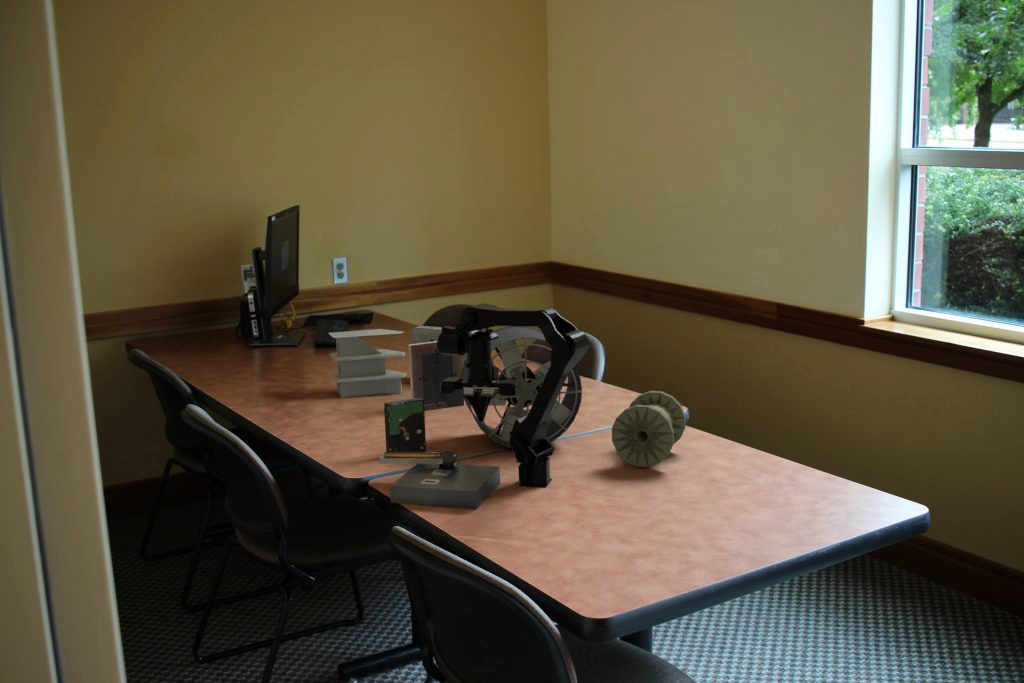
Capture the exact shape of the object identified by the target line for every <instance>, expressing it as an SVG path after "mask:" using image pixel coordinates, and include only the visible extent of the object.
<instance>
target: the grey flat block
mask: <svg viewBox="0 0 1024 683" xmlns="http://www.w3.org/2000/svg"><path fill="white" fill-rule="evenodd" d="M500 484H501V467H500V466H496V465H494V466H493V465H477V464H462V463H461V464H460V463H458V465H457V466H456V467H452V468H442V467H439V464H414V465H413V467H412V468H410V469H409V470H408V471H406V472H405V473H404V474H403V475H402V476H401V477H399V478H398V479H397V480H396V481H394V482H393V483H391V484H390V486H389V491H390V503H393V504H402V505H404V504H405V505H414V506H425V507H437V508H438V507H439V508H440V507H441V508H453V509H469V510H470V509H471V510H477V509H478V508H479V507H480V506H481V505H482V504H483V503H484V502H485V500H487V498H488V497H489V496H490V495H491V494H492V493H493V492H494V491H495V490H496V489H497V487H498V486H499V485H500Z"/></svg>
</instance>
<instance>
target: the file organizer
mask: <svg viewBox="0 0 1024 683" xmlns="http://www.w3.org/2000/svg"><path fill="white" fill-rule="evenodd" d="M397 334H404V331H400V330H392V329H384V328H375V329H364V330H363V329H362V330H350V331H336V332H335V331H334V332H328V335H330V336H331V337H332V338H333V339H335V343H336V345H335V346H336V352H330V353H329V357H330V358H331V359H332V360H333V361H334V362H337V370H338V371H337V373H335V372H334V373H331V374H330V377H331V378H332V380H334V382H335V383H336V388H337V389H336V390H337V393H338V394H339V396H340V397H341V398H351V397H361V396H362V397H363V396H373V395H384V394H385V395H386V394H392V395H393V394H394V395H395V394H396V395H402V394H403V388H402V386H403V385H402V379H403V378H405V377H407V372H403V371H398V370H397V371H396V370H391V369H387V367H386V358H397V357H404V356H406V352H405V351H400V350H399V351H398V350H393V349H385V348H378V349H376V348H375V347H374V346H372V345H370V344H369V343H367V342H366V341H364V340H363V339H361V338H360V337H365V336H366V337H368V336H384V335H397Z"/></svg>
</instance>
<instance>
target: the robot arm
mask: <svg viewBox="0 0 1024 683" xmlns="http://www.w3.org/2000/svg"><path fill="white" fill-rule="evenodd" d="M511 326H525V327H537V328H538V329H539V330H540V332H542V333H543V335H544V337H545V340H546V341H547V342H546V341H545V342H546V343H547V344H548V345H549V346H551V348H550V349H551V351H550V352H549V353H550V354H549V356H550V360H551V364H550V367H549V370H548V372H547V374H546V376H545V378H544V380H543V383H542V385H541V387H540V389H539V391H538V394H537V396H536V398H535V400H534V402H533V404H532V405H531V406H530V408H529V409H530V411H529V413H528V415H526V416H523V417H521V418H519V419H517V420H515V422H514V426H513V429H512V431H511V432H510V433H509V435H511V436H510V439H509V443H510V444H511V447H512V448H511V449H512V450H513V454H514V457H515V459H516V463H520V464H519V465H518V483H519V484H518V486H519V487H525V488H541V489H542V488H543V489H546V488H547V487H548V486H549V485H550V483H551V482H552V481H553V479H552V478H551V469H550V468H551V467H550V457H552V456H553V454H554V452H555V446H554V445H553V444H552V442H551V443H550V442H549V440H548V439H547V438H546V433H547V419H548V417H549V415H550V413H551V411H552V408H553V406H554V404H555V402H556V400H557V401H558V399H559V393H560V391H561V392H562V389H563V387H564V386H563V385H564V383H566V380H568V374H569V372H570V370H571V369H572V368H573V367H574V366H576V365H577V364H578V363H579V362H580V361H581V360H582V359H583V357H584V356H585V354H586V353H587V351H588V350H589V348H590V341H589V338H588V336H587V335H586V333H585V332H584V331H581V330H580V329H578V328H577V326H576V325H574V323H572V322H571V321H569V320H567V319H566V318H564V317H563V316H562V315H560V313H558V312H557V310H556V309H554V308H552V307H546V308H502V307H499V306H497V305H495V304H490V303H485V302H483V303H478V304H474V305H471V306H466V307H465V308H464V309H463V311H462V313H461V318H460V320H459V321H458V323H457V324H456V326H455V327H454V326H451V325H450V326H449V325H446V326H441V327H442V332H441V333H440V335H439V337H438V341H437V348H438V351H439V352H440V353H441V354H447V355H457V356H464V355H465V354H466V353H467V363H466V368H468V380H467V382H463V380H462V378H458V377H448V378H446V379H445V380H443V381H442V382H441V383H440V393H449V394H452V393H453V392H454V391H455V389H463V390H464V395H463V397H464V398H467V400H468V401H469V403H470V404H471V409H472V411H474V412H473V413H474V414H475V415H476V416H477V418H478V420H479V422H483V421H484V422H485V419H486V415H487V411H488V408H489V406H488V405H489V403H490V401H491V399H492V398H493V397H494V396H495V395H497V394H498V391H499V393H500V394H501V395H502V396H515V395H516V394H518V393H519V392H520V391H521V383H520V381H519V380H518V379H504V380H503V381H502V382H500V383H492V382H496V381H498V376H499V375H500V374H499V373H500V372H499V369H500V368H499V367H498V366H496V365H495V364H494V359H492V351H491V340H494V339H497V338H499V336H498V335H497V334H496V333H495V332H494V331H495V330H493V329H492V328H493V327H511ZM485 329H486V330H485ZM475 330H478V331H476V332H475V333H473V334H469V332H472V331H475ZM480 330H485V331H480ZM550 360H549V361H550ZM493 364H494V365H495V366H494V365H493ZM483 386H484V387H483ZM485 386H486V387H485ZM481 390H483V394H482V395H481Z"/></svg>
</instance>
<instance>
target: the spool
mask: <svg viewBox="0 0 1024 683" xmlns="http://www.w3.org/2000/svg"><path fill="white" fill-rule="evenodd" d="M686 417H687V416H686V413H685V411H684V409H683V406H682V404H681V403H680V402H679V401H678V400H677V399H676V398H675V397H674V396H673V395H672V394H671V395H670V394H669V393H666V392H664V391H662V390H661V391H657V390H649V391H647V392H644V393H641V394H638V396H636V398H634V399H633V401H632V402H631V403H630V405H629V407H627V408H625V409H624V410H623V411H622V412H621V413H620V414H619V415H618V416H617V417H616V418H615V420H614V422H613V424H612V428H611V441H612V444H613V446H614V448H615V451H616V453H617V454H618V455H619V456H620V457H621V458H622V459H623V460H624V461H625V462H626V463H629V464H631V465H633V466H634V467H643V468H650V467H652V466H656V465H659V464H660V463H661V462H663V461H664V460H665V459H667V458H668V457H669V455H670V453H671V451H672V449H673V446H674V445H675V444H676V443H677V442H678V441H679V440H681V439H682V436H683V434H684V431H685V430H686V422H687V421H686Z"/></svg>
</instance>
